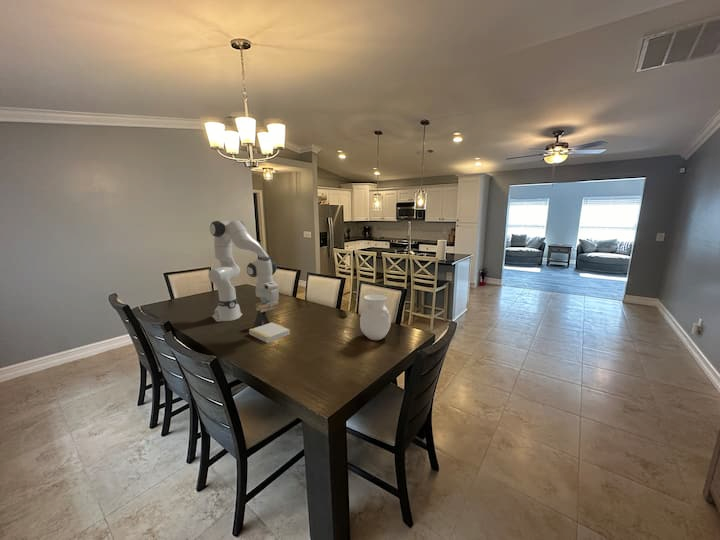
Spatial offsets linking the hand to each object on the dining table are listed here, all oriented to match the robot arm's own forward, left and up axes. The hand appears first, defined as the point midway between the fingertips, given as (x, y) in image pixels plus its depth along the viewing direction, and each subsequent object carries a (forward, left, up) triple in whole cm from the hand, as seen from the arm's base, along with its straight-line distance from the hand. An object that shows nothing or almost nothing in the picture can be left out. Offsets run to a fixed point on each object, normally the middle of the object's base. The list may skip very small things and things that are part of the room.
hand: (267, 305), depth 174 cm
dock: (0, 0, -18) cm, 18 cm away
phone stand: (-15, +4, -19) cm, 24 cm away
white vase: (+54, +38, -19) cm, 69 cm away
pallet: (0, 0, -2) cm, 2 cm away
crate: (0, 0, +2) cm, 2 cm away
